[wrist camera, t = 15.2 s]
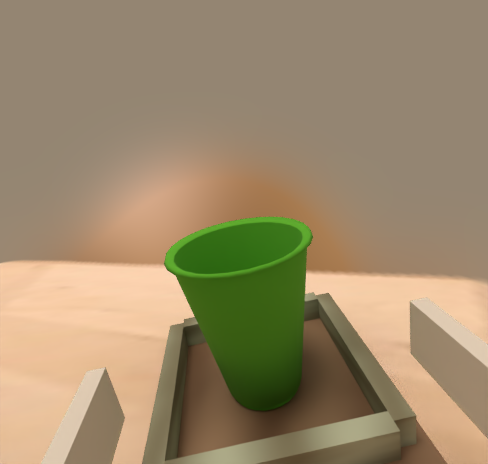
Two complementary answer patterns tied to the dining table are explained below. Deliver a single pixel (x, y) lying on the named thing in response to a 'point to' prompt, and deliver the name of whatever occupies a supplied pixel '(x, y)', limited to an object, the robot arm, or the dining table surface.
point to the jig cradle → (285, 405)
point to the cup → (249, 302)
